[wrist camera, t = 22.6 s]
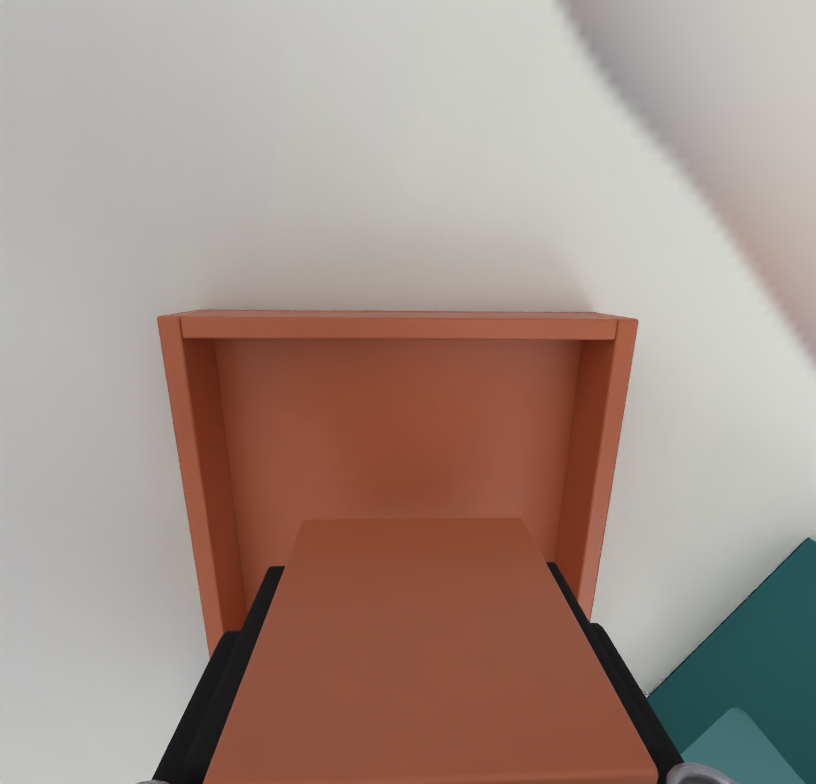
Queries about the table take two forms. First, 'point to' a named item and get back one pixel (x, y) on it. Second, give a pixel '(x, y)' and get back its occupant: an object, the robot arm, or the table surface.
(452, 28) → the table surface
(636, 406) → the table surface
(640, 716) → the robot arm
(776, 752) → the bracket
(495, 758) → the block
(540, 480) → the terracotta tray
